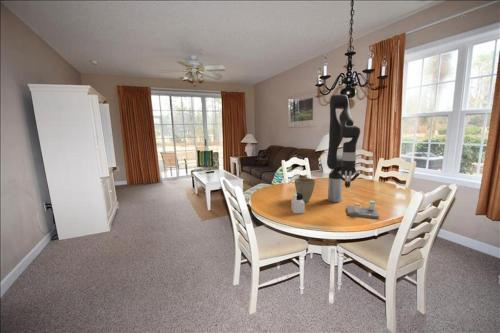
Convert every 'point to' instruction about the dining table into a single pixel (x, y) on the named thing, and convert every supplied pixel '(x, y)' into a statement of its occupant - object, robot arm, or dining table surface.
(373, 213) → the console
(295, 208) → the medicine bottle
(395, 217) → the dining table surface
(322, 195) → the dining table surface
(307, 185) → the plant pot
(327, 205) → the dining table surface
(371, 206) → the block
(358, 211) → the fader
